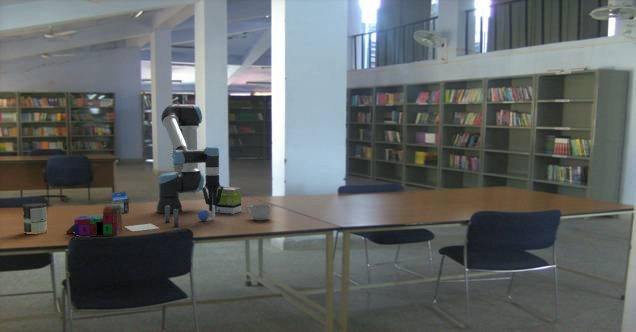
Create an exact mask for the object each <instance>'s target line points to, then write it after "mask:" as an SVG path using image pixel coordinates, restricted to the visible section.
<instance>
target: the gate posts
mask: <svg viewBox="0 0 636 332" xmlns="http://www.w3.org/2000/svg"><path fill="white" fill-rule="evenodd" d="M179 213H180V212H179V211H178V209H173V213H172V214H173V217H172V218H173V227H174V228H178V227H180V221H179V220H180V219H179V218H180V217H179V216H180V215H179ZM170 222H171V213H170V206H165V213H164V224H167V223H169V224H170Z"/></svg>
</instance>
